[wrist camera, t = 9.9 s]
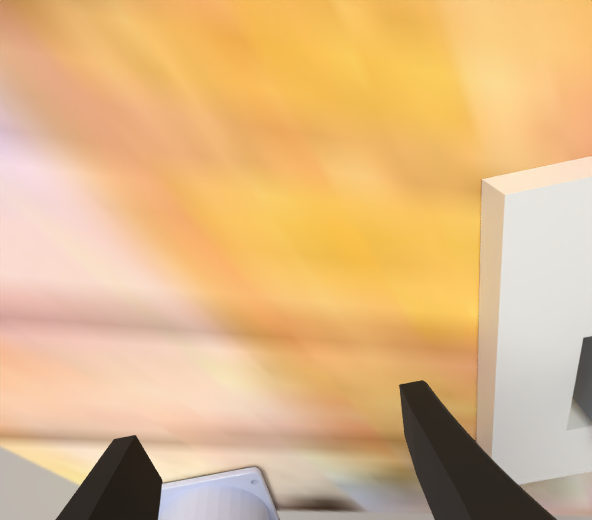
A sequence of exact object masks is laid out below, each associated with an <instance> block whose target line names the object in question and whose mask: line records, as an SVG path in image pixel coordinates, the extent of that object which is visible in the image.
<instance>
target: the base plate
mask: <svg viewBox="0 0 592 520" xmlns="http://www.w3.org/2000/svg"><path fill="white" fill-rule="evenodd" d="M590 336H592V156H589V157H584V158H580V159H575V160H570V161H566V162H561V163H556V164H551V165H547V166H542V167H537V168H533V169H528V170H523V171H519V172H514V173H509V174H504V175H500V176H495V177H490V178H486V179H482V194H481V241H480V287H479V334H478V380H477V427H476V443H477V444H478V445H479V446H480V447H481V448H482V449H483V450H484V451H485V452H486V453H487V454H488V455H489V456H490V457H491V458H492V459H493V461H494V462H495V463H496V464H497V465H498V466H499V467H500V468H501V469H502V470H503V471H505V472H506V473H507V474H508V475H509V476H510V477H511V478H512V479H513V480H514V481H515V482H516V483H517V484H518V485H520V484H525V483H531V482H536V481H542V480H548V479H553V478H559V477H564V476H570V475H575V474H581V473H586V472H592V420H591V419H590V418H589V417H588V416H587V414H586V413H585V412H584V411H583V410H582V408H581V407H580V406H579V405H578V404H577V403H576V401H575V400H574V399H573V398H572V397H573V391H574V386H575V380H576V375H577V370H578V364H579V359H580V353H581V348H582V342H583V338H584V337H590Z"/></svg>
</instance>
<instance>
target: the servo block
mask: <svg viewBox="0 0 592 520" xmlns="http://www.w3.org/2000/svg"><path fill="white" fill-rule="evenodd" d="M572 398H573V399H574V400H575V401H576V403H577V404H578V405H579V406H580V407H581V408H582V410H583V411H584V412H585V413H586V414H587V416H588V417H589V418H590V419H591V420H592V336H590V337H584V338H583V342H582V348H581V353H580V359H579V364H578V370H577V375H576V380H575V386H574V391H573V397H572Z"/></svg>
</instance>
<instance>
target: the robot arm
mask: <svg viewBox="0 0 592 520" xmlns="http://www.w3.org/2000/svg"><path fill="white" fill-rule="evenodd" d="M399 386H400V396H401V405H402V415H403V424H404V434H405V438H406V442H407V445H408V448H409V452H410V455H411V458H412V462H413V465H414V468H415V471H416V474H417V477H418V480H419V482H420V484H421V487H422V489H423V492H424V494H425V497H426V499H427V502H428V504H429V507H430V509H431V511H432V514H433V516H434V519H435V520H556V519H555V518H554V517H553V516H552V515H551V514H550V513H549V512H547V511H546V510H545V509H544V508H543V507H542V506H541V505H539V504H538V503H537V502H536V501H535V500H534V499H533V498H532V497H531V496H530V495H529V494H527V493H526V492H525V491H524V490H523V489H522V488H521V487H520V486H519V485H518V484H517V483H516V482H515V481H514V480H513V479H512V478H511V477H510V476H509V475H508V474H507V473H506V472H505V471H503V470H502V469H501V468H500V467H499V466H498V465H497V464H496V463H495V462H494V461H493V459H492V458H491V457H490V456H489V455H488V454H487V453H486V452H485V451H484V450H483V449H482V448H481V447H480V446H479V445H478V444H477V443H476V442H475V440H474V439H473V438H472V437H471V436H470V435H469V434H468V433H467V432H466V431H465V430H464V428H463V427H462V426H461V425H460V424H459V423H458V422H457V420H456V419H455V418H454V417H453V416H452V415H451V413H450V412H449V411H448V410H447V409H446V407H445V406H444V405H443V404H442V403H441V401H440V400H439V399H438V397H437V396H436V395H435V394H434V392H433V391H432V390H431V388H430V387H429V385H428V384H427V383H426V382H424V381H423V380H421V381H416V382H411V383H406V384H400V385H399ZM56 520H280V519H279V516H278V514H277V511H276V509H275V506H274V504H273V501H272V498H271V496H270V493H269V491H268V488H267V486H266V483H265V481H264V478H263V476H262V473H261V471H260V469H258V468H256V467H250V468H245V469H239V470H234V471H229V472H223V473H218V474H213V475H207V476H202V477H197V478H191V479H186V480H181V481H175V482H170V483H165V484H162V479H161V477H160V475H159V474H158V472H157V470H156V469H155V467H154V465H153V464H152V462H151V460H150V459H149V457H148V455H147V453H146V452H145V450H144V448H143V447H142V445H141V443H140V442H139V440H138V438H137V437H136V435H133V436H128V437H123V438H118V439H114V440H113V441H112V443H111V444H110V445H109V447H108V448H107V449H106V451H105V452H104V453H103V455H102V456H101V458H100V459H99V460H98V462H97V463H96V465H95V466H94V467H93V469H92V470H91V472H90V473H89V474H88V476H87V477H86V479H85V480H84V481H83V483H82V484H81V486H80V487H79V488H78V490H77V491H76V493H75V494H74V495H73V497H72V498H71V499H70V501H69V502H68V504H67V505H66V506H65V508H64V509H63V510H62V512H61V513H60V515H59V516H58V517H57V519H56Z"/></svg>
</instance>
